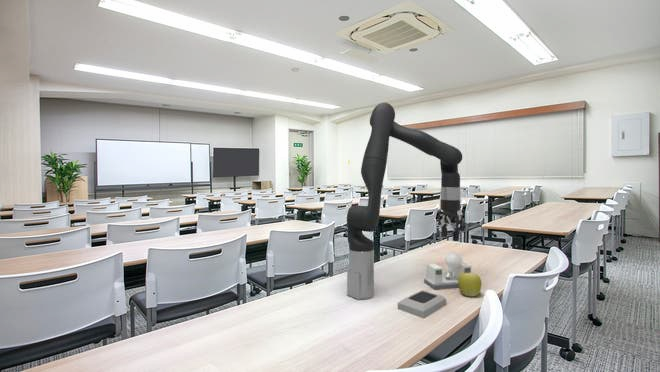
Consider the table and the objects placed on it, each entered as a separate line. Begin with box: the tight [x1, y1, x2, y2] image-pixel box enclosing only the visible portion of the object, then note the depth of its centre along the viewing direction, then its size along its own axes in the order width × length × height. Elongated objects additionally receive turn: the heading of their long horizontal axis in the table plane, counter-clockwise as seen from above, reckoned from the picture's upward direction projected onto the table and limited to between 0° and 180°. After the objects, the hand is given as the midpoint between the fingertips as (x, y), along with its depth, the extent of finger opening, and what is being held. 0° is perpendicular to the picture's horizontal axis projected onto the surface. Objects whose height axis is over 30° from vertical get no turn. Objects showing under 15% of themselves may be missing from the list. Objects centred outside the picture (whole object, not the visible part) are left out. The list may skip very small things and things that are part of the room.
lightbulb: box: [444, 251, 463, 279], centre depth 130 cm, size 6×6×11 cm
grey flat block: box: [397, 289, 447, 319], centre depth 109 cm, size 10×4×15 cm
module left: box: [425, 263, 444, 284], centre depth 128 cm, size 4×7×6 cm, turn 11°
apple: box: [458, 272, 482, 298], centre depth 119 cm, size 8×8×10 cm
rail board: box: [423, 275, 460, 291], centre depth 130 cm, size 17×8×2 cm, turn 101°
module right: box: [453, 261, 472, 278], centre depth 131 cm, size 4×7×6 cm, turn 11°
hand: (449, 238), depth 128 cm, fingers open, 8 cm apart
